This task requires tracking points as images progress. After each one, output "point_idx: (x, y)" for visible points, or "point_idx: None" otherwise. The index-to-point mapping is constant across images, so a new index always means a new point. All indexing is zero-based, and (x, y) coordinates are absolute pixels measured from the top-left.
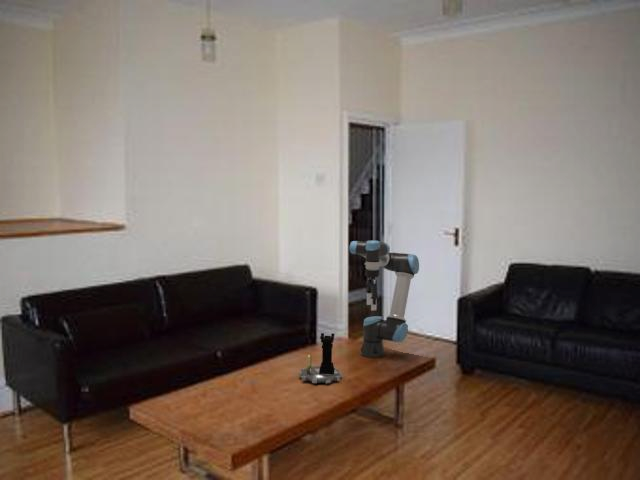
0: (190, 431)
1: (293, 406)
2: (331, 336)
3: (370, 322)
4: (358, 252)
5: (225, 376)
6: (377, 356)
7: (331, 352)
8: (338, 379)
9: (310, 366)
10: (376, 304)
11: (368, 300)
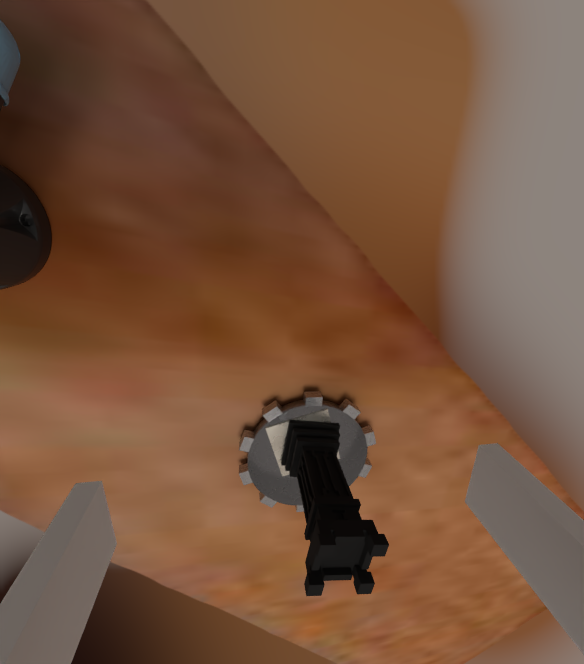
0: (528, 616)
1: None
2: (374, 554)
3: None
4: None
5: (273, 633)
6: (41, 211)
7: (335, 483)
8: (352, 403)
9: None
10: (581, 521)
11: (76, 610)
